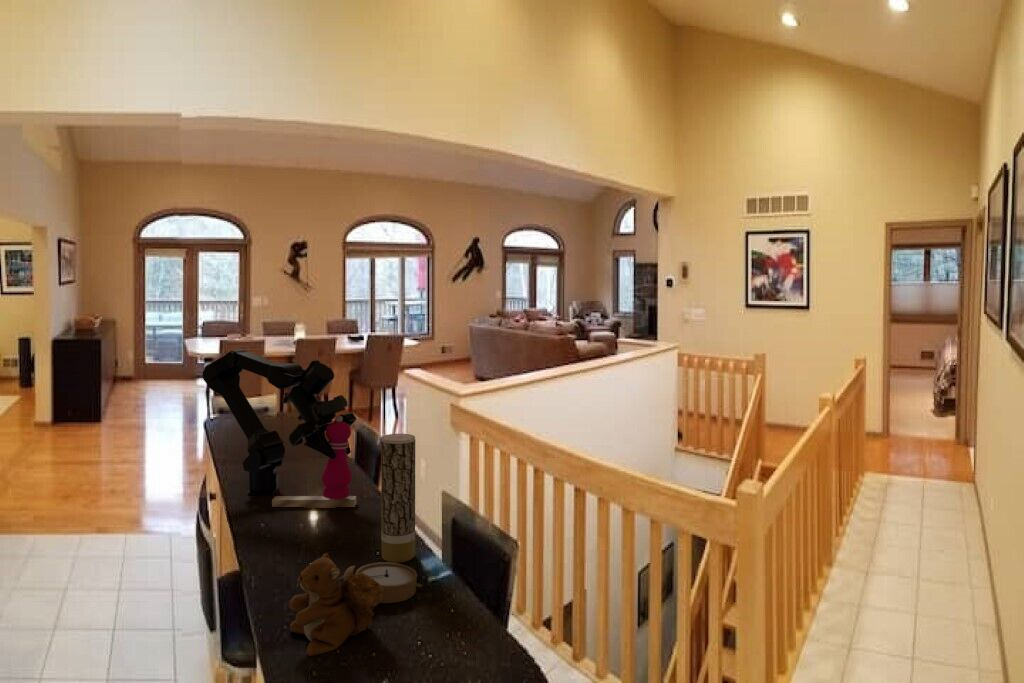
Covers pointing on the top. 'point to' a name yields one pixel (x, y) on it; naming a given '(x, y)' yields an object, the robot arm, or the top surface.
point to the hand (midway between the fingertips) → (342, 455)
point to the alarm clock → (389, 579)
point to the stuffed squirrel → (332, 605)
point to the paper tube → (398, 497)
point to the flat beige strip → (313, 502)
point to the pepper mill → (337, 461)
